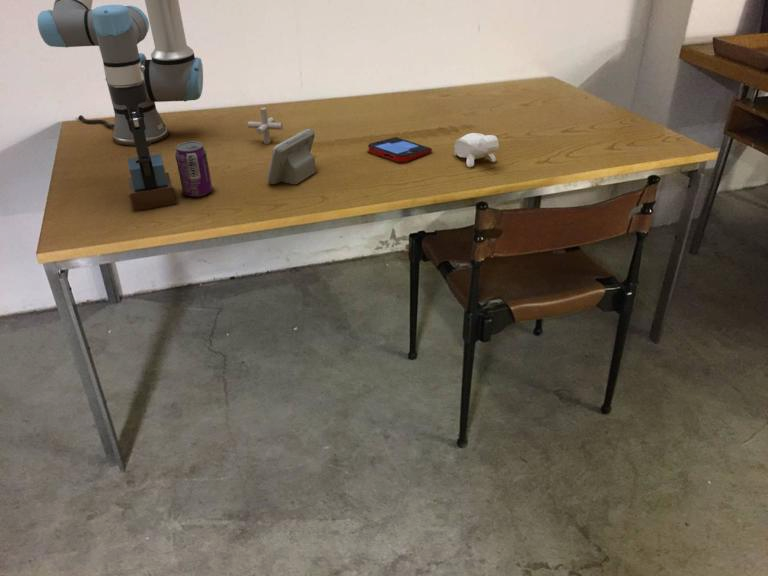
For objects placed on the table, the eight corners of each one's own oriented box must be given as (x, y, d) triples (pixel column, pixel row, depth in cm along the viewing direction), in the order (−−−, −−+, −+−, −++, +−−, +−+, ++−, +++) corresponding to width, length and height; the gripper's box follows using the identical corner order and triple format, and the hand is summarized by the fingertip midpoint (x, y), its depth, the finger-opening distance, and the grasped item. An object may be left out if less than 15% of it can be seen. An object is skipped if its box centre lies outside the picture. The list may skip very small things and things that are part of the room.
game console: (433, 152, 177) (433, 144, 176) (401, 165, 170) (401, 157, 168) (396, 140, 186) (396, 132, 184) (364, 151, 178) (364, 144, 177)
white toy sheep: (452, 168, 175) (482, 166, 161) (447, 137, 173) (477, 132, 159) (478, 162, 178) (510, 160, 165) (474, 132, 176) (505, 127, 163)
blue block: (132, 178, 153) (127, 158, 150) (164, 173, 155) (160, 153, 152) (134, 190, 147) (129, 170, 144) (167, 184, 149) (163, 164, 147)
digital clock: (304, 162, 172) (301, 124, 166) (328, 170, 167) (326, 131, 161) (258, 181, 162) (253, 141, 156) (282, 191, 157) (278, 150, 151)
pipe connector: (277, 149, 181) (274, 114, 175) (244, 147, 182) (240, 113, 177) (289, 137, 189) (285, 104, 183) (257, 135, 190) (253, 102, 185)
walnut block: (132, 195, 156) (127, 178, 153) (171, 189, 159) (168, 172, 156) (134, 211, 148) (130, 193, 146) (176, 204, 151) (172, 186, 149)
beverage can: (218, 189, 158) (210, 143, 152) (200, 200, 153) (191, 153, 146) (195, 184, 161) (187, 139, 154) (177, 195, 155) (167, 148, 149)
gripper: (148, 93, 132) (170, 194, 144) (141, 70, 147) (161, 163, 160) (110, 98, 129) (136, 200, 142) (107, 73, 145) (130, 167, 158)
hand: (149, 180), depth 151 cm, fingers closed on blue block, 7 cm apart
